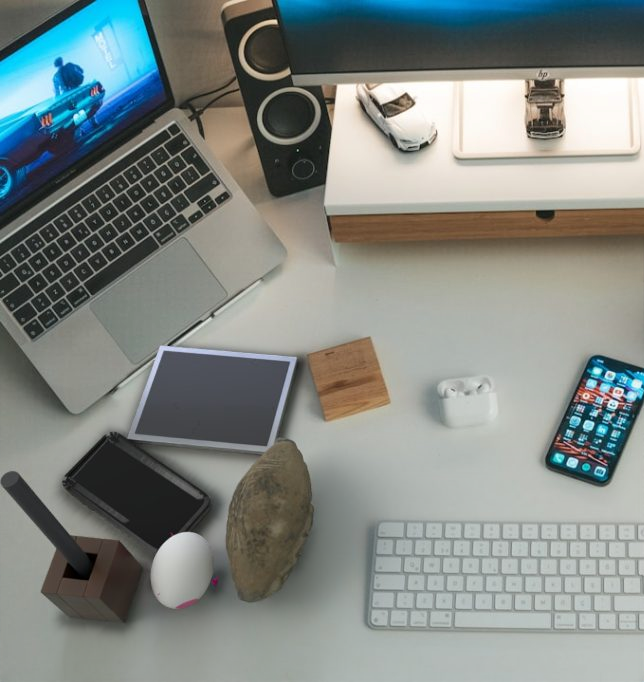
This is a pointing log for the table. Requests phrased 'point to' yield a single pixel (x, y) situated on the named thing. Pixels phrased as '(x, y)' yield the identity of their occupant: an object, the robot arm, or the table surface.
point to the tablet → (214, 400)
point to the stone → (269, 521)
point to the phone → (136, 492)
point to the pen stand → (94, 581)
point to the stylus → (47, 523)
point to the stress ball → (182, 570)
